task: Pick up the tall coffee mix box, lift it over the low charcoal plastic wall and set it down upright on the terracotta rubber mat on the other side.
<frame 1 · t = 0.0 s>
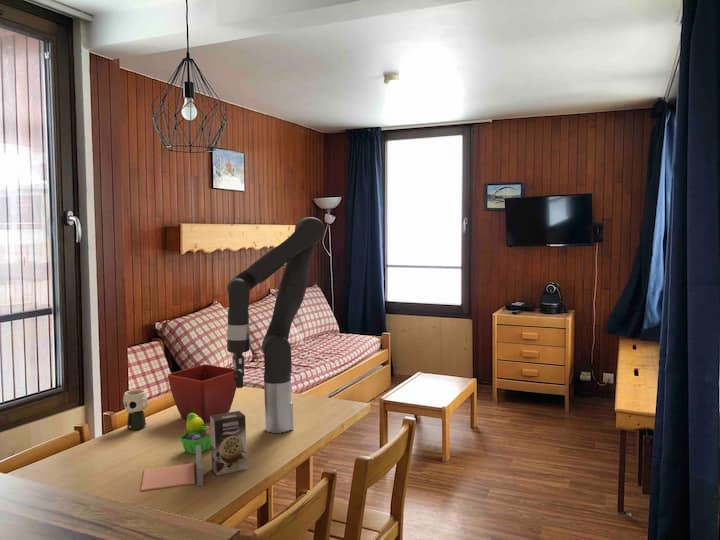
hand: (238, 384, 202), 17 cm above the table, tool pointing down, fingers open, 8 cm apart
coffee box: (229, 469, 174), on the table
low wall: (199, 472, 172), on the table
fruit basket: (199, 448, 191), on the table
plant pot: (205, 416, 224), on the table
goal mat: (168, 477, 170), on the table
character mug: (136, 428, 212), on the table
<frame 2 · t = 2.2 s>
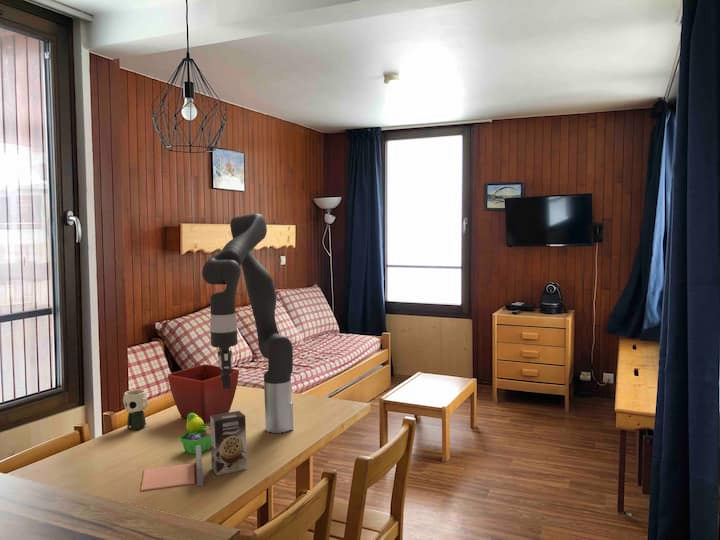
hand: (225, 384, 172), 25 cm above the table, tool pointing down, fingers open, 8 cm apart
nothing on the table moved.
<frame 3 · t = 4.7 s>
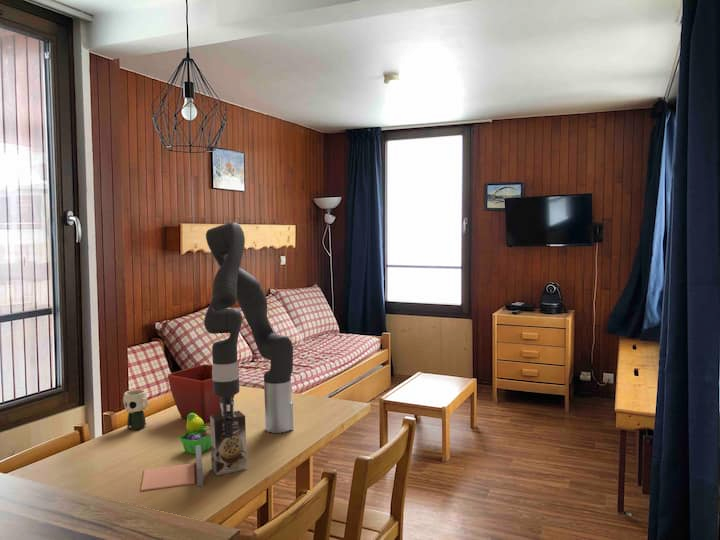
hand: (227, 432, 173), 11 cm above the table, tool pointing down, fingers closed on coffee box, 7 cm apart
coffee box: (229, 469, 174), on the table, touching gripper
everything else where it was.
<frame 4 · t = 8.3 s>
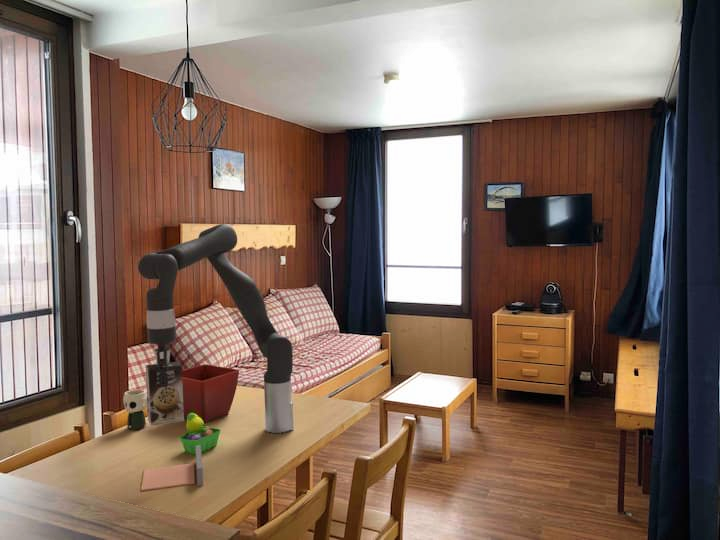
hand: (164, 383, 167), 27 cm above the table, tool pointing down, fingers closed on coffee box, 7 cm apart
coffee box: (166, 421, 168), point 16 cm above the table, touching gripper
everything else where it was.
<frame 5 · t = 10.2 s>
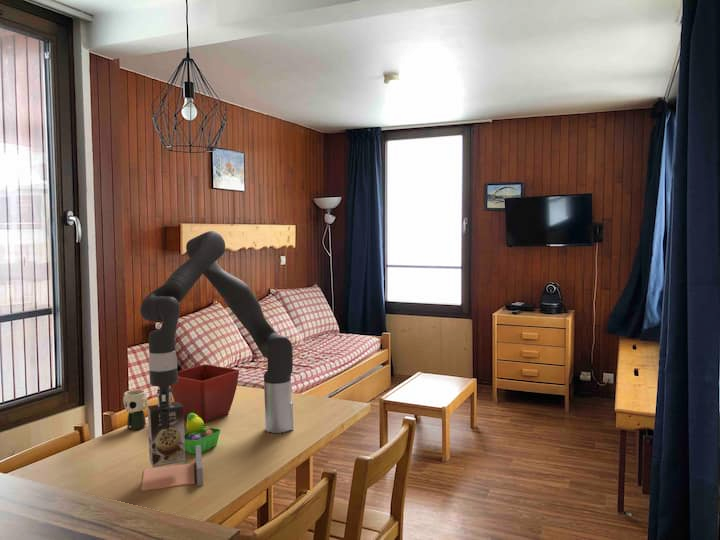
hand: (166, 424, 168), 15 cm above the table, tool pointing down, fingers closed on coffee box, 7 cm apart
coffee box: (167, 462, 169), point 4 cm above the table, touching gripper
everything else where it was.
when the fingers open (13 cm above the table, at t = 11.9 s): coffee box drops 1 cm, resting on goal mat.
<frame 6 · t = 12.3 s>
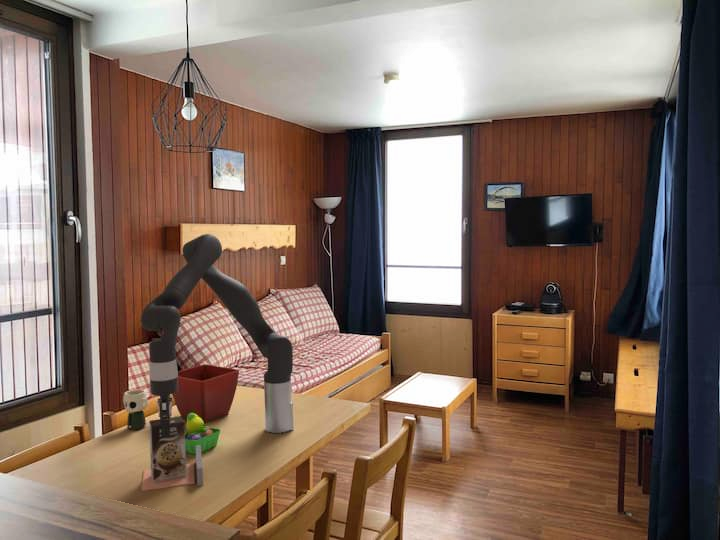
hand: (166, 432, 168), 13 cm above the table, tool pointing down, fingers open, 8 cm apart
coffee box: (169, 476, 169), resting on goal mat
everything else where it was.
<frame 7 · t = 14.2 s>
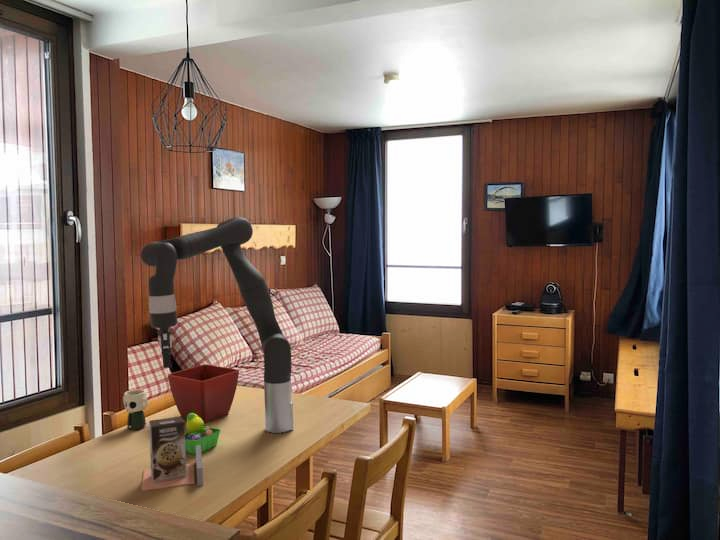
hand: (167, 364, 177), 30 cm above the table, tool pointing down, fingers open, 8 cm apart
nothing on the table moved.
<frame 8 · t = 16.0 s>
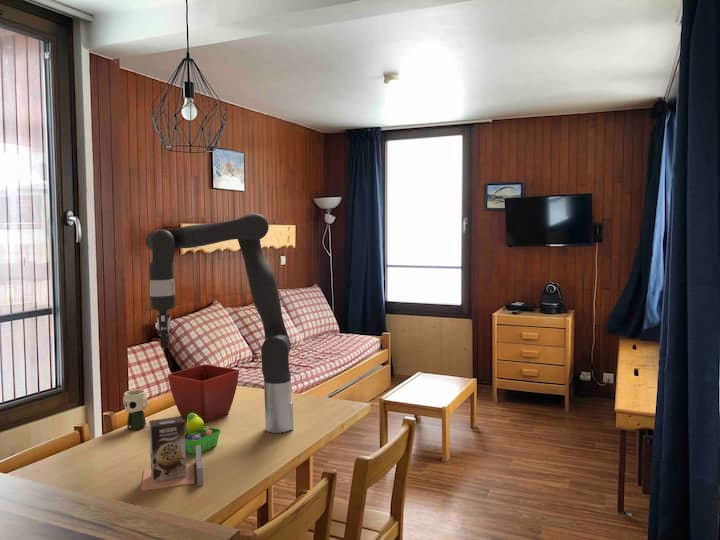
hand: (165, 345, 187), 34 cm above the table, tool pointing down, fingers open, 8 cm apart
nothing on the table moved.
at the end: coffee box inside the target area on the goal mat (0.3 cm from its centre), point 0.2 cm above the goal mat's base; coffee box tilted 0°; the gripper is holding nothing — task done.
